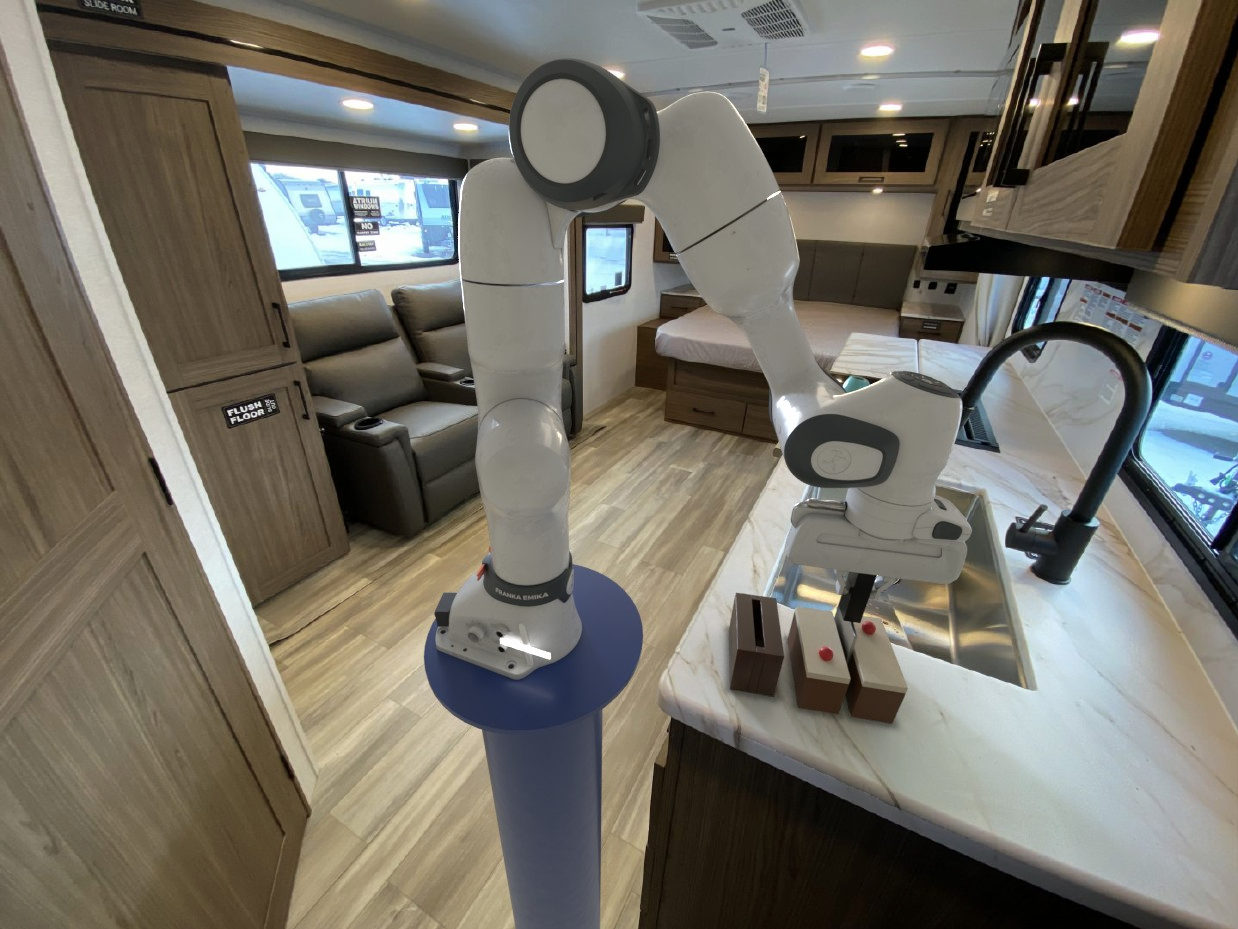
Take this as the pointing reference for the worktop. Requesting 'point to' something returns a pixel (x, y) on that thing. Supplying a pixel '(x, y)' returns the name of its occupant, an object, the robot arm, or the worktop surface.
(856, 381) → the vase
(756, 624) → the knife block
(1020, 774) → the worktop surface
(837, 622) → the knife
